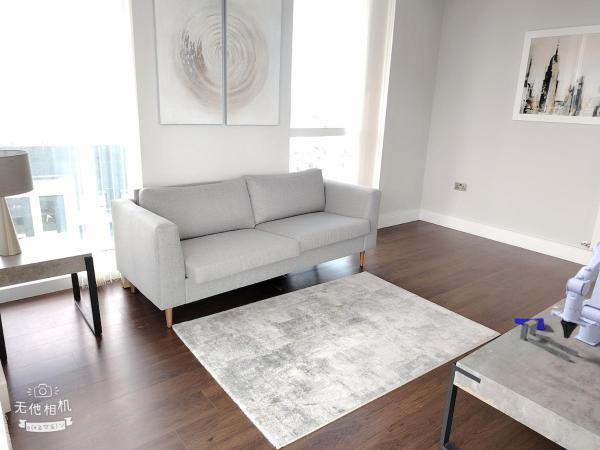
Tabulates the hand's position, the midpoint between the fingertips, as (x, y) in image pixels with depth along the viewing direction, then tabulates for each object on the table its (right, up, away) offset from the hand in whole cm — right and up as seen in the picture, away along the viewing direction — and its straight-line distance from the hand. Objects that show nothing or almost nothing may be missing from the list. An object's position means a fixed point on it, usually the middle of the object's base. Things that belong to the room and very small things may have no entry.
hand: (566, 337), depth 173 cm
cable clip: (-4, +1, +21) cm, 22 cm away
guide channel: (-3, -6, +5) cm, 9 cm away
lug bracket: (-9, -4, +14) cm, 17 cm away
